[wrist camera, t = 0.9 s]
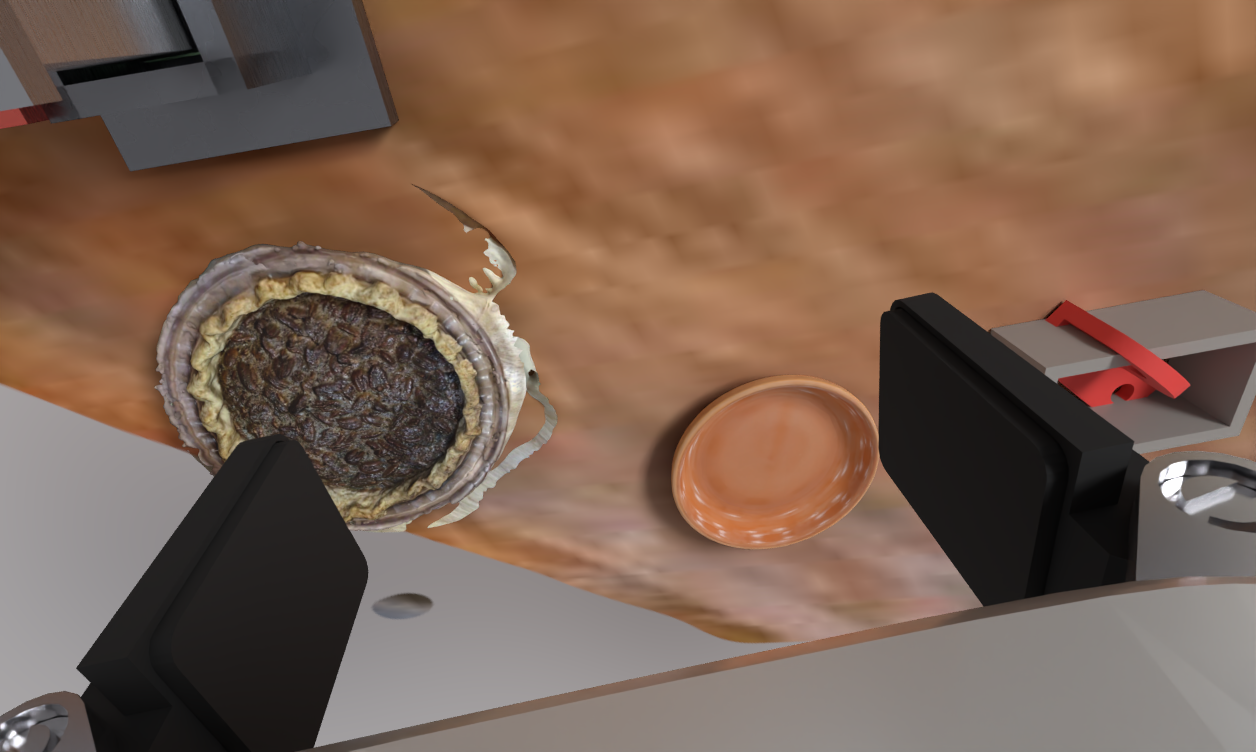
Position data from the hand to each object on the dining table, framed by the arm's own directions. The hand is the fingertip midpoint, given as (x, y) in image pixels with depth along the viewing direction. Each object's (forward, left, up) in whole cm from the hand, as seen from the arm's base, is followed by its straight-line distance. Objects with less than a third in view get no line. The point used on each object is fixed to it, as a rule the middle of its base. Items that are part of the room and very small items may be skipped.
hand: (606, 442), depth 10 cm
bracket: (+23, +36, -31) cm, 53 cm away
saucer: (+26, +11, -32) cm, 42 cm away
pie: (+13, -17, -32) cm, 38 cm away
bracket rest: (+23, +36, -31) cm, 53 cm away
